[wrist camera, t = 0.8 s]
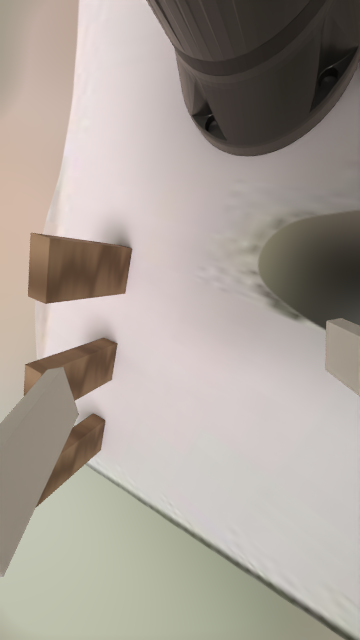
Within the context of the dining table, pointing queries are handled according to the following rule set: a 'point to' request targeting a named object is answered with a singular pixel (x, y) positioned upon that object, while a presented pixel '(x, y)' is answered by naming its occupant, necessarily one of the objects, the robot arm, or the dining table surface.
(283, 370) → the dining table surface
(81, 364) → the tile
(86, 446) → the tile
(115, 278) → the tile
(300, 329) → the dining table surface
